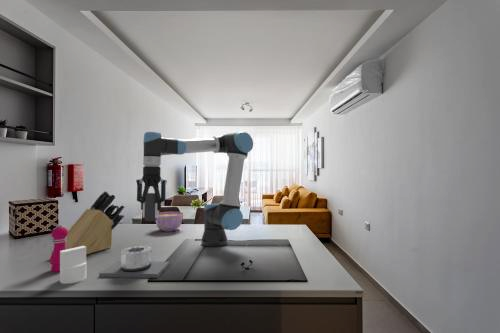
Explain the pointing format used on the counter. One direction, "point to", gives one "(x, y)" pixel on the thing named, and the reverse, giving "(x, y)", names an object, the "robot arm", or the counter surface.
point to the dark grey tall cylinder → (150, 207)
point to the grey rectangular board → (151, 272)
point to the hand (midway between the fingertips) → (150, 217)
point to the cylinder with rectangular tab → (73, 265)
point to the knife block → (95, 226)
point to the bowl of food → (169, 221)
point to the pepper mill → (58, 246)
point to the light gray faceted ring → (136, 258)
